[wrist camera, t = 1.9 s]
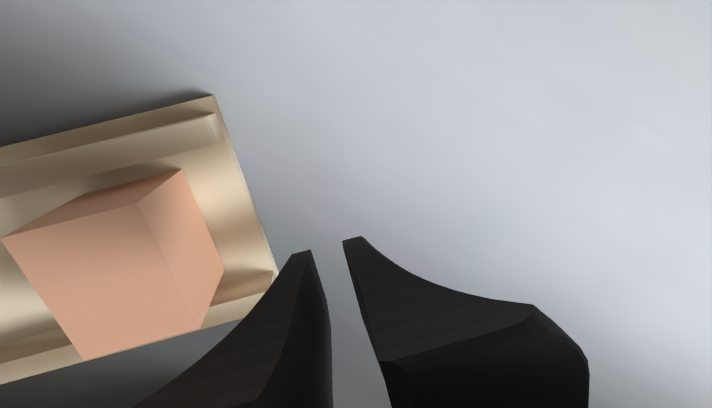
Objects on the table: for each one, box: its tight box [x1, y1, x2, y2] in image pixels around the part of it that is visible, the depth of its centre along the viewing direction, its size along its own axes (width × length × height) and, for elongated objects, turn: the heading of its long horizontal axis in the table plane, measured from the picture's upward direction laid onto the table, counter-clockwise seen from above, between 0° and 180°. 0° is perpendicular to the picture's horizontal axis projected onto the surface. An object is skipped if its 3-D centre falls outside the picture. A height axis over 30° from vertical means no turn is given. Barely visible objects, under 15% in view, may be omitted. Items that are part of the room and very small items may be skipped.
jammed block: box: [0, 169, 225, 360], centre depth 16 cm, size 6×5×5 cm
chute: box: [0, 95, 279, 384], centre depth 18 cm, size 12×24×3 cm, turn 103°
